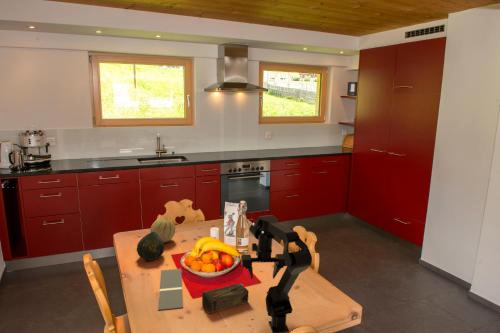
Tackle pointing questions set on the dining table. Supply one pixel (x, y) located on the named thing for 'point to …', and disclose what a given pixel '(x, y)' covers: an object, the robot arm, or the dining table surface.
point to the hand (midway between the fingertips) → (262, 278)
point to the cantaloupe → (163, 229)
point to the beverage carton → (224, 297)
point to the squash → (150, 246)
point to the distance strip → (170, 290)
